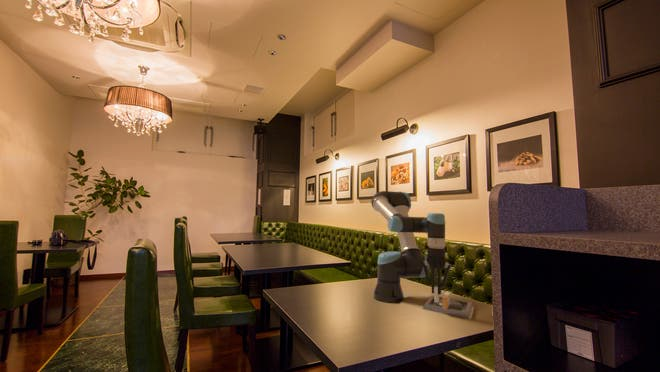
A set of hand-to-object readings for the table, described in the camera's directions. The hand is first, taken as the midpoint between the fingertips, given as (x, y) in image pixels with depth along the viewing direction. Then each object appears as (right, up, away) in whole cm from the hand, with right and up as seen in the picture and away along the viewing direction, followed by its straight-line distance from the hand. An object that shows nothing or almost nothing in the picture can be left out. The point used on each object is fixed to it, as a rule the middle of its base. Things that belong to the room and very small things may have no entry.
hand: (436, 301), depth 126 cm
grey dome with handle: (+6, -5, +2) cm, 8 cm away
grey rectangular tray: (+7, -6, +5) cm, 11 cm away
